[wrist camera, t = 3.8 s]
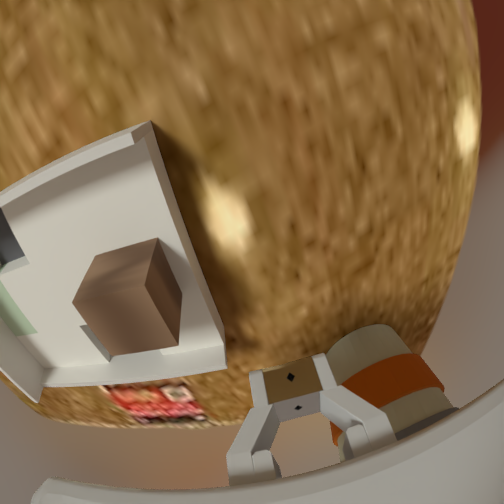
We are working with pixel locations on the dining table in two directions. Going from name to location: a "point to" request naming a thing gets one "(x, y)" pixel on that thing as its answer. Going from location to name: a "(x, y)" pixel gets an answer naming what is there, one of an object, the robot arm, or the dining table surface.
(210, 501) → the robot arm
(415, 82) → the dining table surface
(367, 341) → the reusable coffee cup
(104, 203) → the box
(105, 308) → the walnut cube
